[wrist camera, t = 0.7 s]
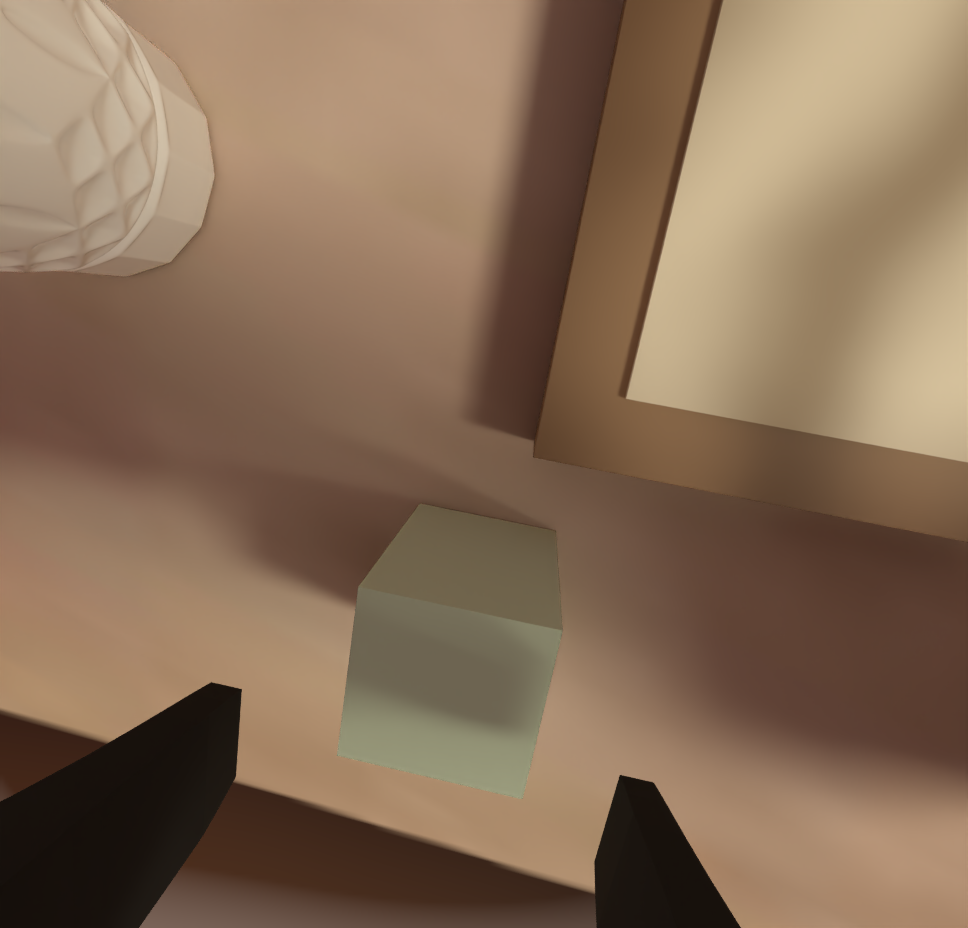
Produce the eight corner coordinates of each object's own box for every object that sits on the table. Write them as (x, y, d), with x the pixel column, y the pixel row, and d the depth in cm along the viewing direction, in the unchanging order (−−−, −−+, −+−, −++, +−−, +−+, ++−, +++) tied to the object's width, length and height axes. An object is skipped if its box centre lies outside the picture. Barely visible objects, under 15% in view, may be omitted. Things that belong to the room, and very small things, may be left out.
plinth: (1262, -36, 12) (1436, -126, 10) (1004, 532, 15) (1086, 567, 13) (646, -114, 13) (670, -214, 10) (534, 441, 16) (532, 459, 14)
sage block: (555, 530, 17) (562, 630, 11) (528, 651, 18) (522, 799, 12) (420, 503, 17) (358, 586, 11) (402, 623, 18) (337, 755, 13)
